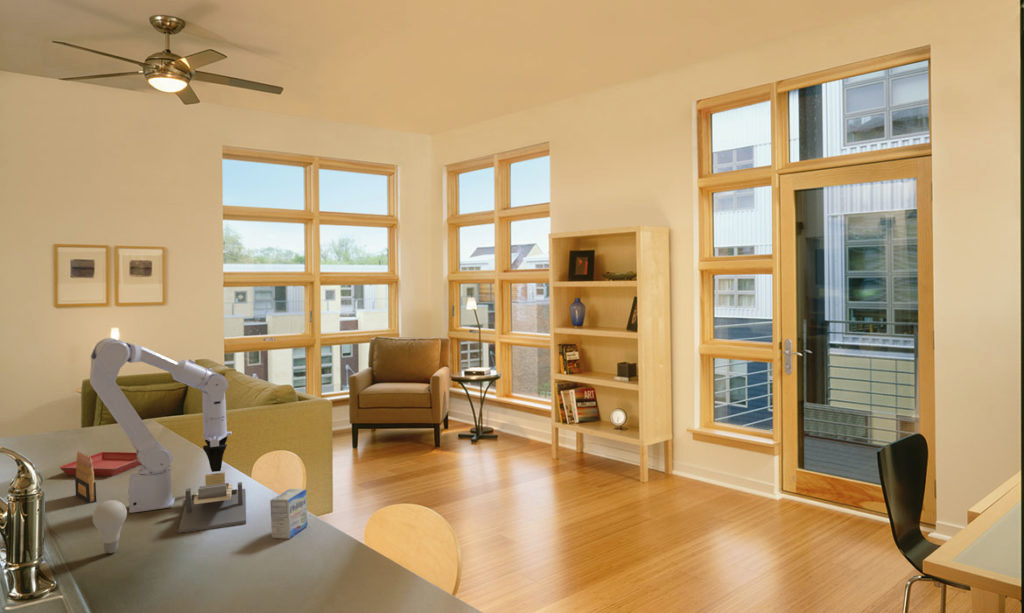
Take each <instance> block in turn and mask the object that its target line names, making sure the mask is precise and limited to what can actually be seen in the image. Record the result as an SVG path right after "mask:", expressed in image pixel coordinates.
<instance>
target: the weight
mask: <svg viewBox="0 0 1024 613" xmlns="http://www.w3.org/2000/svg"><path fill="white" fill-rule="evenodd" d="M204 476H205V479H204V480H205V486H209V485H217V484H225V483H226V472H224V471H223V472H218V473H215V472H214V473H209V474H206V475H204Z"/></svg>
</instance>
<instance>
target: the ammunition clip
mask: <svg viewBox="0 0 1024 613" xmlns="http://www.w3.org/2000/svg"><path fill="white" fill-rule="evenodd" d="M90 456H91V455H90ZM90 456H89V455H87V453H84V452H83V453H82V452H81V451H80V450H79V451H78V452H77V453H76V461H77V462H76V476H74V479H75V480H74V481H75V485H74V486H75V497H77V498H79V499H80V500H82V501H84V502H85V503H86V504H93V503H96V502H97V485H96V482H95V476H94V471H93V464H92V459H91V457H90Z"/></svg>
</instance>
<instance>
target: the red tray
mask: <svg viewBox="0 0 1024 613" xmlns="http://www.w3.org/2000/svg"><path fill="white" fill-rule="evenodd" d="M90 457H91V459H92V464H93V471H94V477H115V476H117V475H119V474H121V473H125V472H127V471H129V470H131V468H132V469H134V468H136V466H137V467H138V466H142V464H141V463H140V462H139V461H138V459H137V452H124V451H120V452H119V451H117V452H116V451H101V452H98V453H95V454H92V455H90ZM76 462H77V460H75V461H72V462H69V463H66V464H63V465H61V466H59V469H60V470H61V471H62V472H64V473H66V474H67V475H68V476H72V475H73V476H74V477H76Z"/></svg>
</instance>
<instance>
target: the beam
mask: <svg viewBox="0 0 1024 613" xmlns="http://www.w3.org/2000/svg"><path fill="white" fill-rule="evenodd" d="M237 490H238V488H237V489H233V484H232V483H229V482H225V484H217V485H209V486H206V485H202V486H199V487H198V489H197V493H196V494H191V496H192V500H194V504H200V503H208V502H215V501H223V500H230V499H231V494H232V495H235V494H237Z"/></svg>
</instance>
